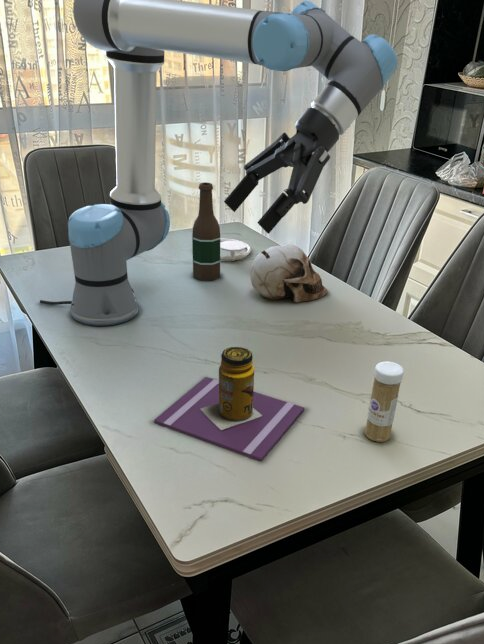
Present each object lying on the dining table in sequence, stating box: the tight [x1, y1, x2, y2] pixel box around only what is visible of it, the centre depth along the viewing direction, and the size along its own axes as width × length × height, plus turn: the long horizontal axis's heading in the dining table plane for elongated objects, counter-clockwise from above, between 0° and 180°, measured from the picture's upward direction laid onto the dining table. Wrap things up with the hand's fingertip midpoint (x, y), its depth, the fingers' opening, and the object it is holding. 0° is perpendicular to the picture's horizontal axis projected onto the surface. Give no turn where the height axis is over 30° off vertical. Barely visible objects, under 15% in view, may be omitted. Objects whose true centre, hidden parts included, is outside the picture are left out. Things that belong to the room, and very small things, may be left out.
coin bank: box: [250, 243, 328, 303], centre depth 150 cm, size 16×17×13 cm
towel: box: [153, 376, 305, 462], centre depth 107 cm, size 21×17×1 cm
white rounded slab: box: [220, 237, 252, 262], centre depth 176 cm, size 17×4×21 cm
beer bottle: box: [191, 182, 221, 282], centre depth 155 cm, size 8×8×24 cm
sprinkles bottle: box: [364, 360, 405, 443], centre depth 100 cm, size 5×5×13 cm
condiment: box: [201, 346, 262, 430], centre depth 103 cm, size 7×8×12 cm
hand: (245, 217), depth 107 cm, fingers open, 13 cm apart
